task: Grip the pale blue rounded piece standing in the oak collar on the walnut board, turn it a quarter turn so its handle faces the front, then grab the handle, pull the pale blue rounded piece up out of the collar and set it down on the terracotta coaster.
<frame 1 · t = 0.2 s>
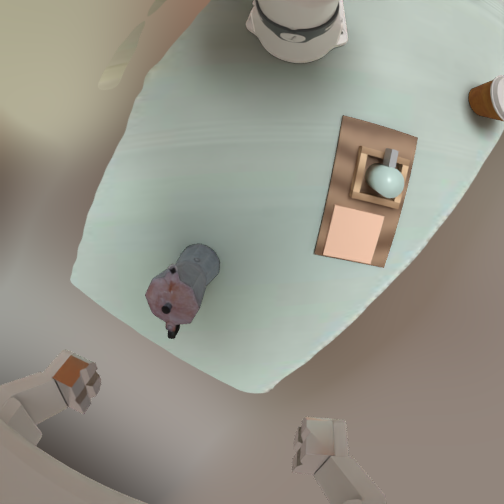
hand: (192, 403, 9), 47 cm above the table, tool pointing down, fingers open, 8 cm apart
terracotta coaster: (353, 234, 53), resting on walnut board
disposable coffee cup: (478, 101, 39), on the table
walnut board: (366, 194, 51), on the table
moka pot: (201, 263, 61), on the table
pale blue rounded piece: (377, 176, 48), point 1 cm above the table, touching walnut board
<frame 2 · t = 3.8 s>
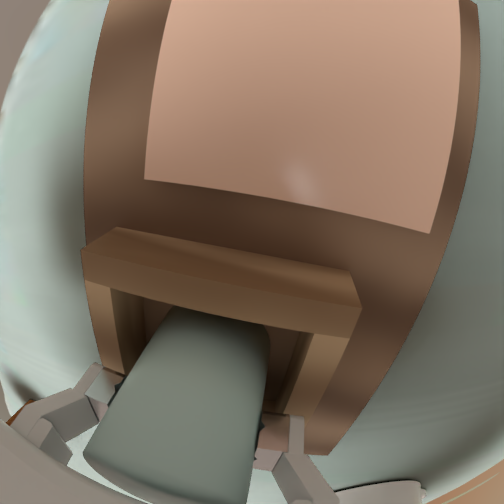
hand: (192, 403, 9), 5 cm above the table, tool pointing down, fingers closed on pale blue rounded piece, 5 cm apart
terracotta coaster: (314, 55, 8), resting on walnut board
walnut board: (252, 258, 12), on the table
pale blue rounded piece: (214, 342, 13), point 1 cm above the table, touching gripper, walnut board
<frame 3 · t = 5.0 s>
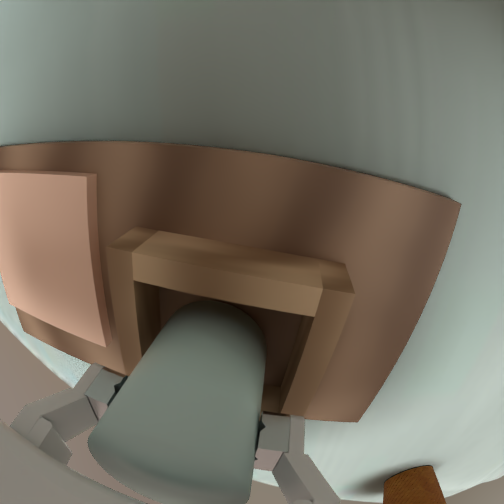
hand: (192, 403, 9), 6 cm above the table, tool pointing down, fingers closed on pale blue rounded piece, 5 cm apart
terracotta coaster: (41, 251, 14), resting on walnut board
disposable coffee cup: (408, 475, 22), on the table
walnut board: (158, 288, 15), on the table
pale blue rounded piece: (214, 347, 13), point 2 cm above the table, tilted 7°, touching gripper
when the fingers open (5 cm above the table, at t = 6.0 s): pale blue rounded piece stays where it is, resting on walnut board.
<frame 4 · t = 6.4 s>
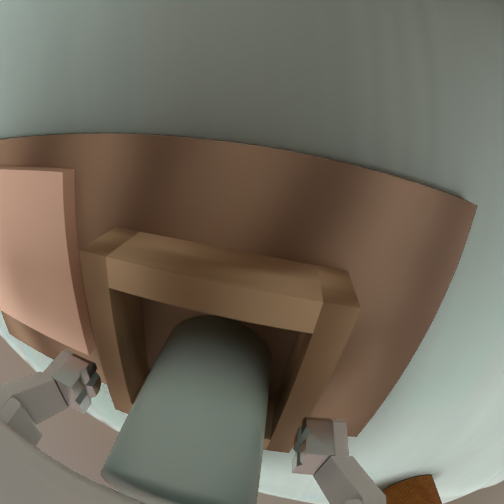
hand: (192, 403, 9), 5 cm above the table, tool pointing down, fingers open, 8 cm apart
terracotta coaster: (22, 252, 13), resting on walnut board
disposable coffee cup: (407, 484, 21), on the table
walnut board: (142, 294, 13), on the table
pale blue rounded piece: (217, 358, 13), point 1 cm above the table, touching walnut board
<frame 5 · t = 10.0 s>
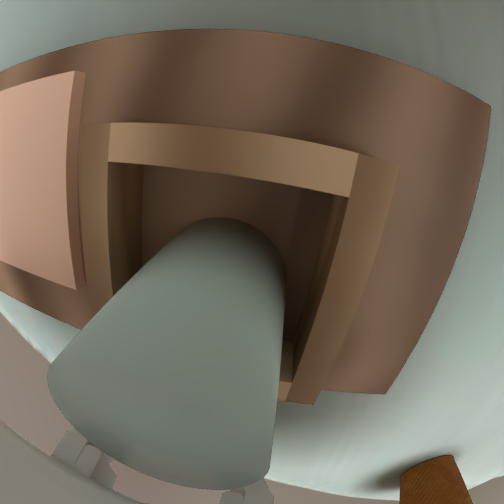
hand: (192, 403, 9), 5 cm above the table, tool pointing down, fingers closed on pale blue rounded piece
terracotta coaster: (16, 178, 11), resting on walnut board
disposable coffee cup: (426, 467, 19), on the table
walnut board: (142, 208, 12), on the table
pale blue rounded piece: (222, 278, 11), point 1 cm above the table, touching gripper, walnut board
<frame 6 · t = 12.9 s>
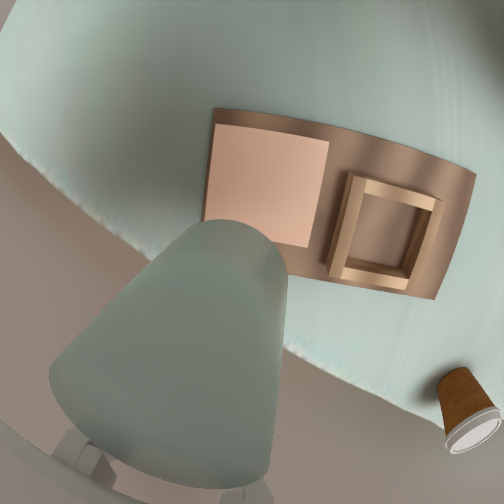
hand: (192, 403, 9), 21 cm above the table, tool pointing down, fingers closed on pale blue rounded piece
terracotta coaster: (264, 184, 26), resting on walnut board
disposable coffee cup: (452, 380, 34), on the table
walnut board: (344, 209, 27), on the table
pale blue rounded piece: (224, 279, 12), point 17 cm above the table, touching gripper
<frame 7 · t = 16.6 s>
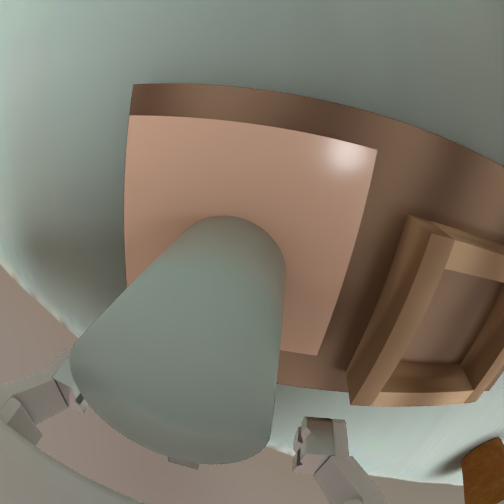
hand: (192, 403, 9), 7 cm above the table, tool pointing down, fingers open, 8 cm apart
terracotta coaster: (233, 239, 13), resting on walnut board
disposable coffee cup: (480, 450, 21), on the table
walnut board: (389, 280, 13), on the table
pale blue rounded piece: (227, 272, 12), point 2 cm above the table, touching terracotta coaster
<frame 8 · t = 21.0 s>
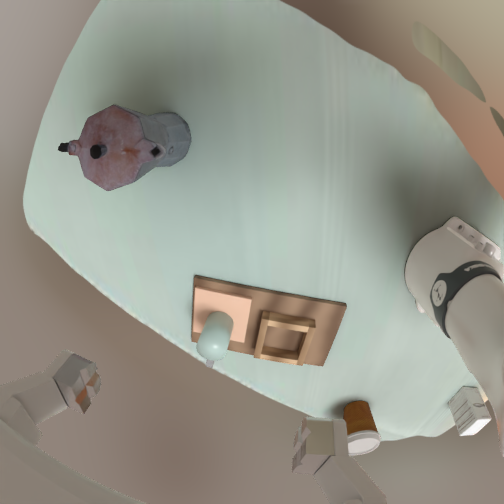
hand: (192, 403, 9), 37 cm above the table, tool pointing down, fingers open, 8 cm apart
terracotta coaster: (221, 314, 52), resting on walnut board
disposable coffee cup: (356, 407, 60), on the table
supplement box: (462, 394, 56), on the table
walnut board: (264, 324, 53), on the table
moka pot: (164, 140, 42), on the table
pale blue rounded piece: (220, 322, 52), point 2 cm above the table, touching terracotta coaster
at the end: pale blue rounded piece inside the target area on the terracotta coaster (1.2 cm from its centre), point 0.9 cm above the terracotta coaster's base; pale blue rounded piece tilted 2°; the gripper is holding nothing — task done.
